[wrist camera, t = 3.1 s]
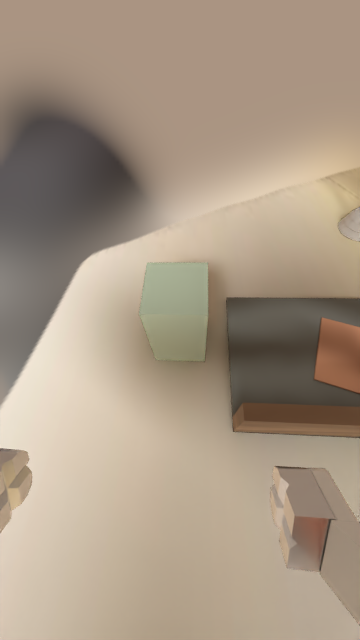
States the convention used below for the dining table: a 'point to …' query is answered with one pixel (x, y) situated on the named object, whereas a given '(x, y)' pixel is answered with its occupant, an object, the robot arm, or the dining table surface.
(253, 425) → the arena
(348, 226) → the chalice
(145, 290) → the sage block
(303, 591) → the dining table surface
